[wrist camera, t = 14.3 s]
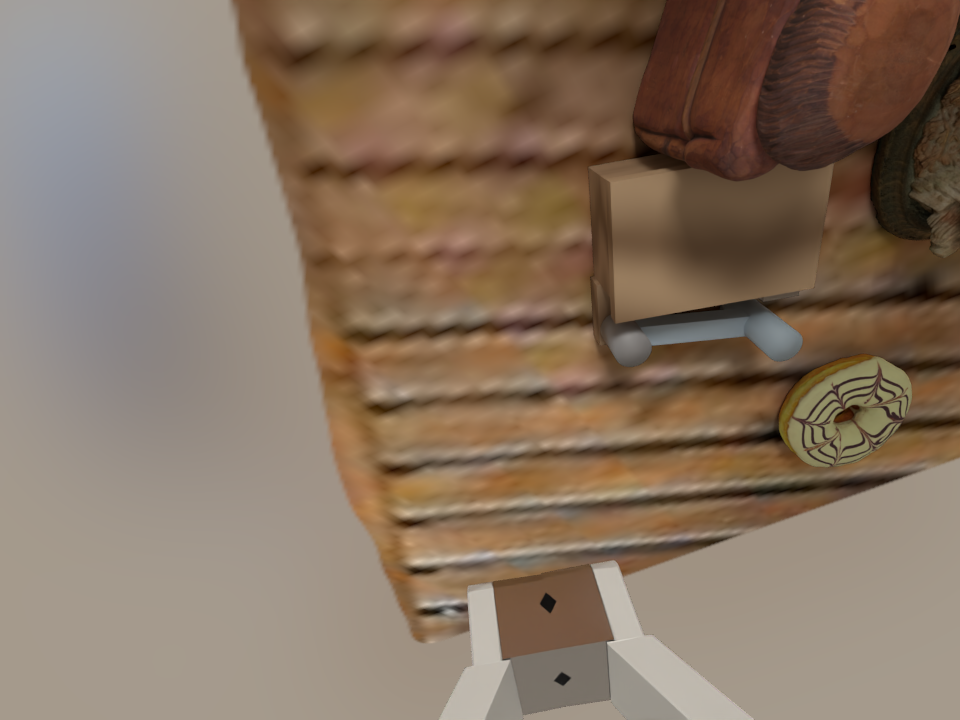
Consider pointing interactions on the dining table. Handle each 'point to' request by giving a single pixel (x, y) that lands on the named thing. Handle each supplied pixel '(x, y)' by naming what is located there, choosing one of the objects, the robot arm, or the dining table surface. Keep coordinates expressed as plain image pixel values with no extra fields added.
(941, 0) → the wooden figurine
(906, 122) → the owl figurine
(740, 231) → the tan boxy piece
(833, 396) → the decorated donut
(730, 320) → the lever handle with knob
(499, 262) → the dining table surface
